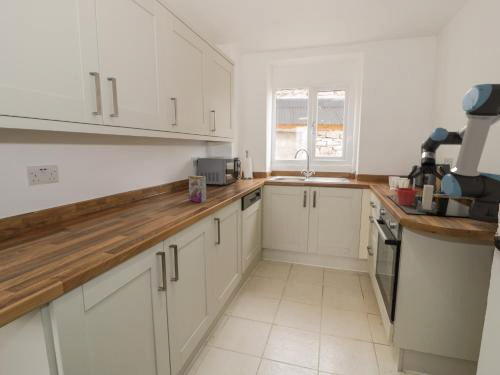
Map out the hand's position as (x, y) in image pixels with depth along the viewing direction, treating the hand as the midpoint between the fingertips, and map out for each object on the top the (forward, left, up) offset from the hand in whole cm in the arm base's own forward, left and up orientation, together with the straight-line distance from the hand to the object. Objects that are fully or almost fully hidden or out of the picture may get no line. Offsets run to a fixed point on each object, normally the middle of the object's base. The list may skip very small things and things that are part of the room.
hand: (427, 189), depth 151 cm
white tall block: (-1, +1, -11) cm, 11 cm away
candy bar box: (+58, +123, -12) cm, 136 cm away
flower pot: (+16, -2, -12) cm, 20 cm away
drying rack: (-1, +1, -12) cm, 12 cm away
